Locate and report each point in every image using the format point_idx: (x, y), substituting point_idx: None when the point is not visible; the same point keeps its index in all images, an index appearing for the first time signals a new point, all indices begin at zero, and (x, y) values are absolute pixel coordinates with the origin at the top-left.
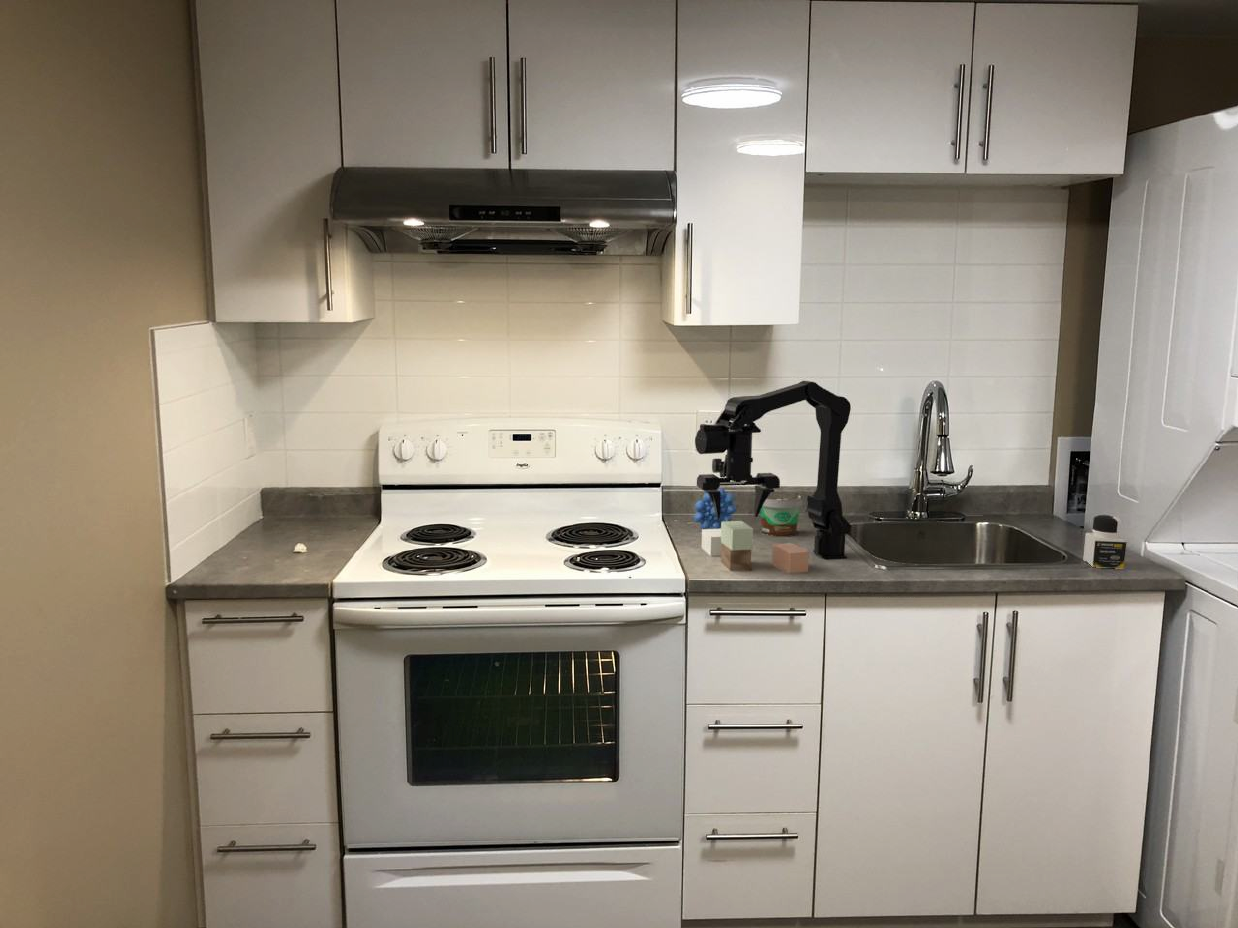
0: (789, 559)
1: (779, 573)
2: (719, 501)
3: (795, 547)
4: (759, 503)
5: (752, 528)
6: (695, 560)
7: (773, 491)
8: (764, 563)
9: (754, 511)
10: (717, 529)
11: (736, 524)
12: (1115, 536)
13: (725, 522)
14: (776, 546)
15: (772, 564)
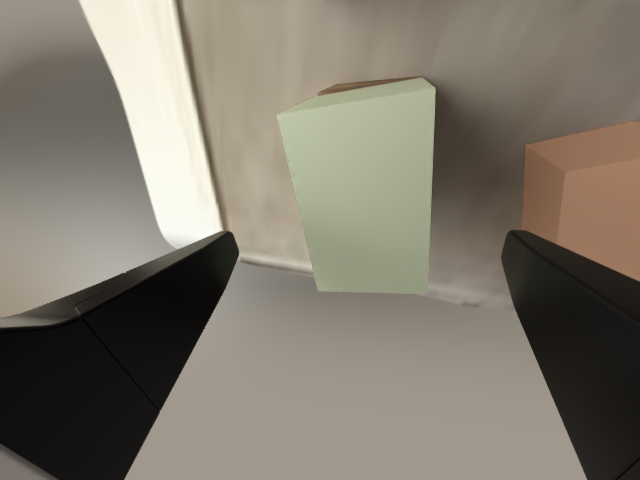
0: None
1: (486, 247)
2: (166, 385)
3: None
4: (557, 405)
5: (424, 291)
6: (243, 65)
7: None
8: (502, 127)
9: (522, 257)
10: None
11: (362, 199)
12: None
13: (302, 139)
14: (562, 204)
15: (525, 149)
